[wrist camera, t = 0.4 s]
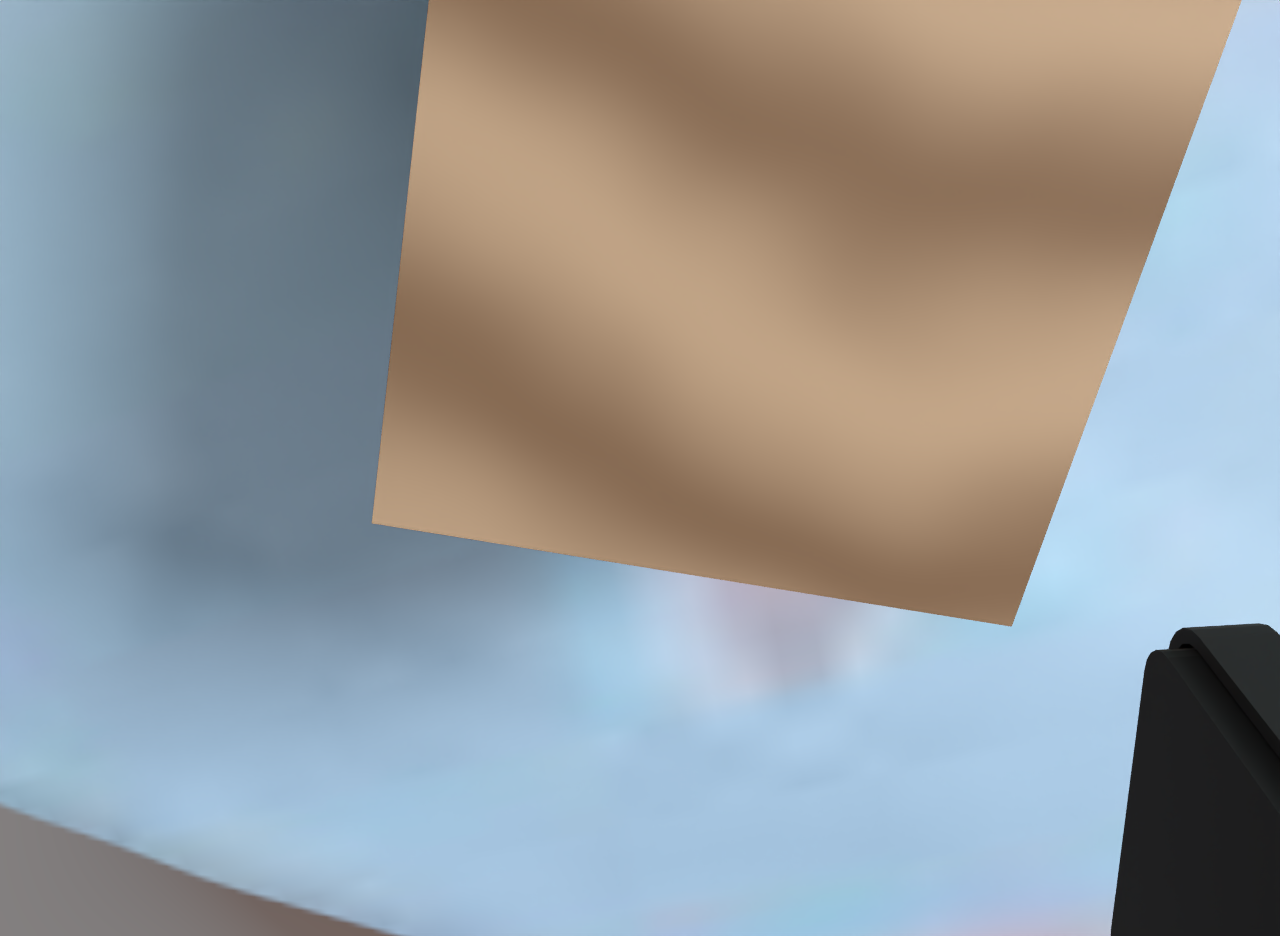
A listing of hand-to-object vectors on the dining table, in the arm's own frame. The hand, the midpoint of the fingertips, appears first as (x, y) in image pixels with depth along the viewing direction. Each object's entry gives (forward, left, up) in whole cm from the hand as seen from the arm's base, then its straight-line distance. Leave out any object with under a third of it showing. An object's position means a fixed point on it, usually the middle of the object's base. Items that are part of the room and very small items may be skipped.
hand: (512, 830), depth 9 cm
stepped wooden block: (-4, +3, -29) cm, 30 cm away
